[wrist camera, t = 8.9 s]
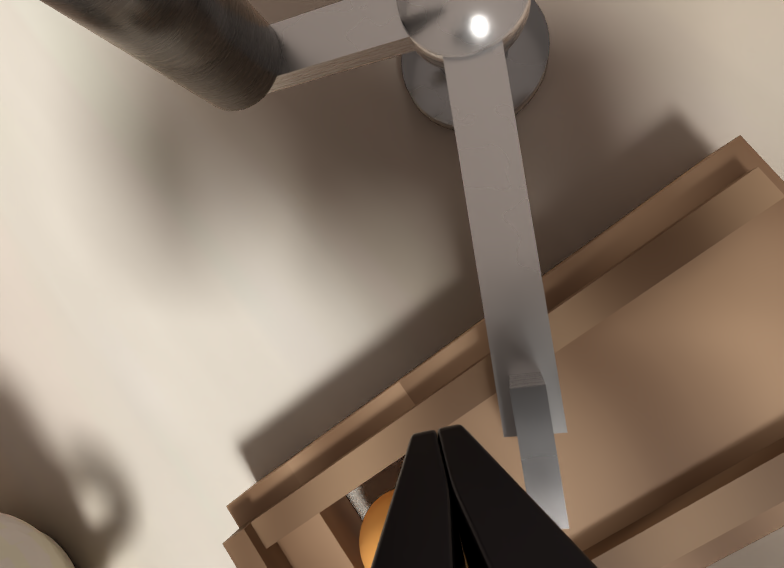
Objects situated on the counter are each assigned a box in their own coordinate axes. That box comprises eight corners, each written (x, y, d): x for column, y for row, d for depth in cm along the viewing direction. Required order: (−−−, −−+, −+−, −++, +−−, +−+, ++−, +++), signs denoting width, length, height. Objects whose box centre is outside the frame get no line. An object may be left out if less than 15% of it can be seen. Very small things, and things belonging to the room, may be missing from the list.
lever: (519, -74, 13) (538, -755, 4) (613, 480, 12) (841, 912, 4) (203, 33, 15) (-164, -268, 7) (268, 496, 15) (-49, 775, 6)
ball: (426, 589, 16) (439, 638, 13) (345, 550, 16) (339, 589, 13) (460, 501, 17) (481, 528, 14) (382, 463, 17) (385, 482, 14)
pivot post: (487, -41, 16) (483, -106, 13) (579, 62, 15) (594, 14, 13) (379, 59, 17) (354, 17, 14) (459, 160, 16) (449, 135, 14)
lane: (708, 155, 14) (759, 122, 11) (926, 393, 13) (1045, 424, 10) (256, 482, 18) (208, 520, 15) (386, 691, 17) (360, 775, 14)
